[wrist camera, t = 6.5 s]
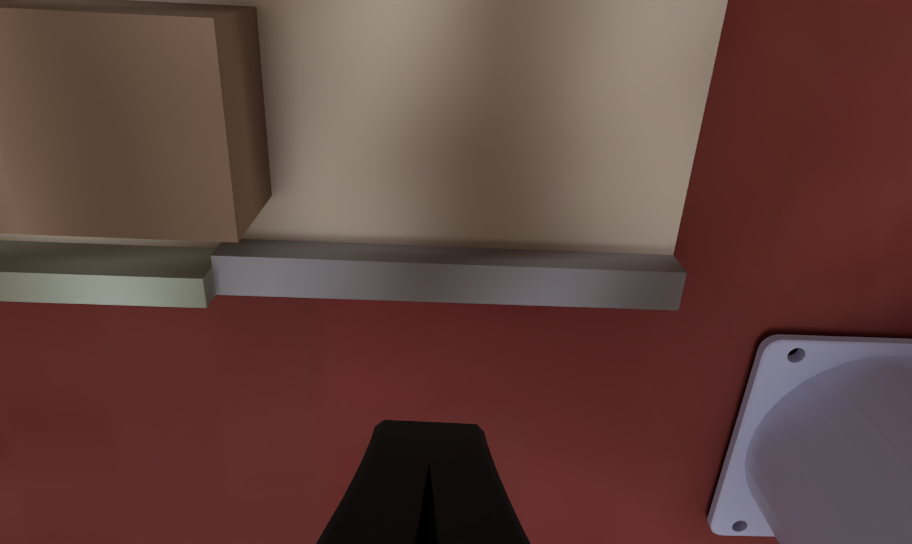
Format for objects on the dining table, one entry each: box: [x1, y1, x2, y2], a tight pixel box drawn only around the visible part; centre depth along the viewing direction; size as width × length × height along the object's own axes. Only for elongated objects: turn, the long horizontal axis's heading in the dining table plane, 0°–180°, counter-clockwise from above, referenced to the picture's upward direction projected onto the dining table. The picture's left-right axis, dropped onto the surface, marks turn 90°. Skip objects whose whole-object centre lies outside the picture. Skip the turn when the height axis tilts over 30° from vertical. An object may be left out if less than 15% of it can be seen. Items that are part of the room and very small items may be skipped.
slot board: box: [0, 0, 728, 310], centre depth 15 cm, size 22×9×3 cm, turn 87°
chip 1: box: [0, 0, 272, 243], centre depth 14 cm, size 4×4×3 cm
